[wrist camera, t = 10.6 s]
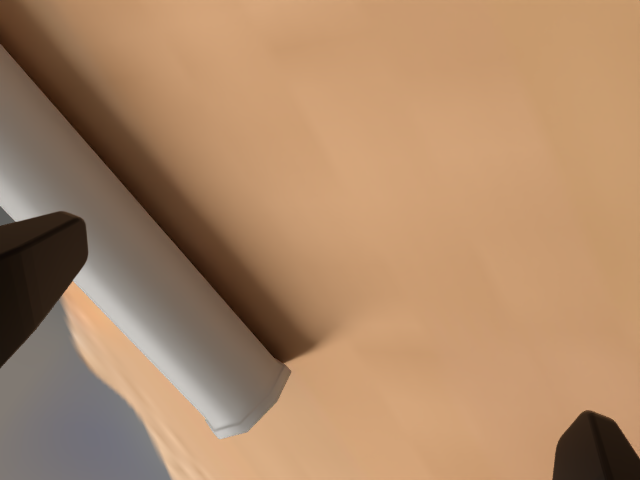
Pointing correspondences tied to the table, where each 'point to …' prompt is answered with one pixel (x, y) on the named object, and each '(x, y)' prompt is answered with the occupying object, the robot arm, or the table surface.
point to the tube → (133, 263)
